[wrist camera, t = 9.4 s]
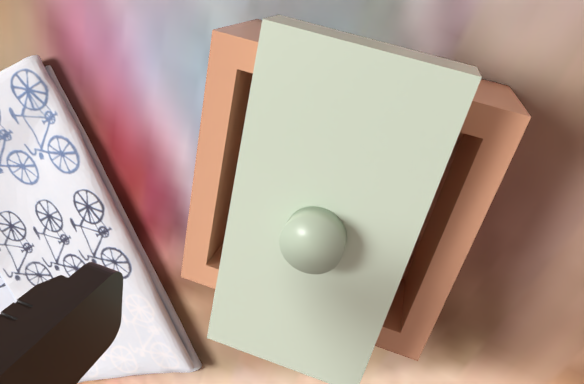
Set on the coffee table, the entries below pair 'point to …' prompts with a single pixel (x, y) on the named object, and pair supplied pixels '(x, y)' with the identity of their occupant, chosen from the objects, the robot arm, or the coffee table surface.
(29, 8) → the coffee table surface
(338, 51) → the lid
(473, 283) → the coffee table surface
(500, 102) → the salmon open box
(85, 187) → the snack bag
